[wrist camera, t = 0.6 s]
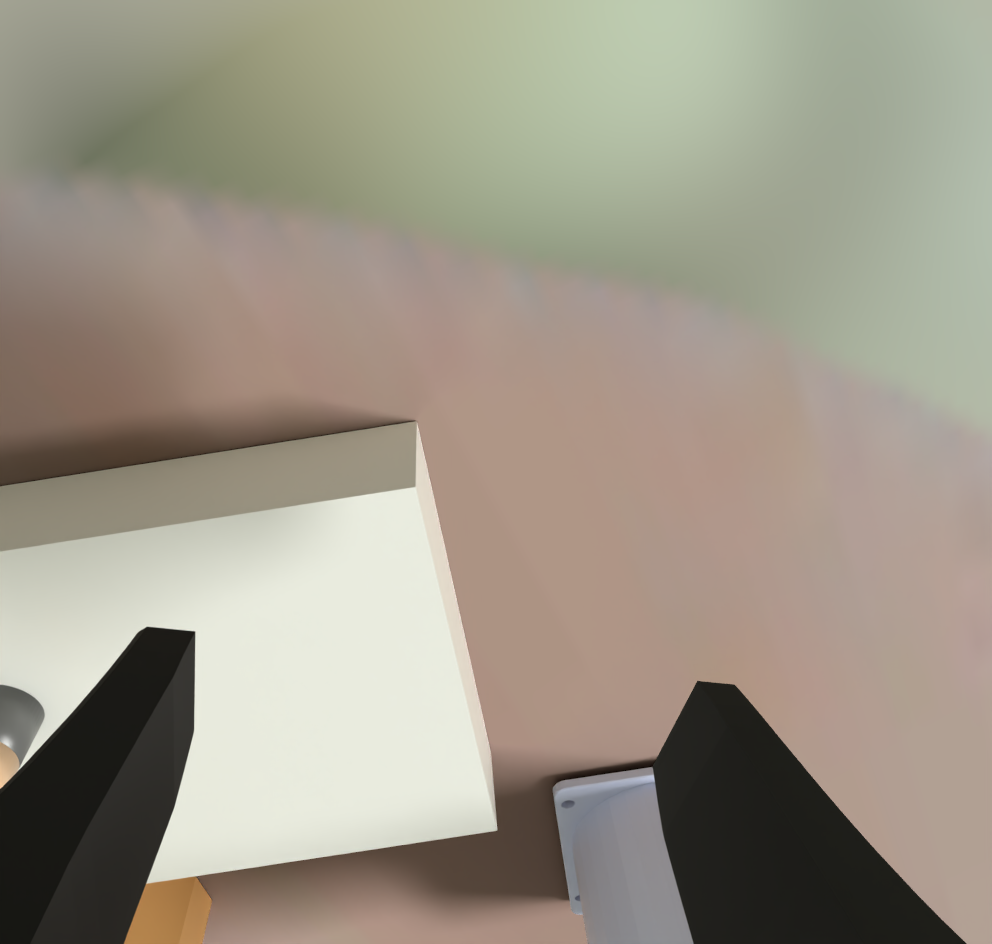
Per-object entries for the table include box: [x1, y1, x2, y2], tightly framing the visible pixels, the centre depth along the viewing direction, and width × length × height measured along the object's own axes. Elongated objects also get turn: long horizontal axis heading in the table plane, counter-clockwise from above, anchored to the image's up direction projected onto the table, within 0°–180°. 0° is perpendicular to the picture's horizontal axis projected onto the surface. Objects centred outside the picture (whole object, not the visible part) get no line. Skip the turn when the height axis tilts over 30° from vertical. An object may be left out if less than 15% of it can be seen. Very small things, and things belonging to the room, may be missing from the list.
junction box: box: [0, 421, 497, 884], centre depth 21 cm, size 14×18×6 cm
